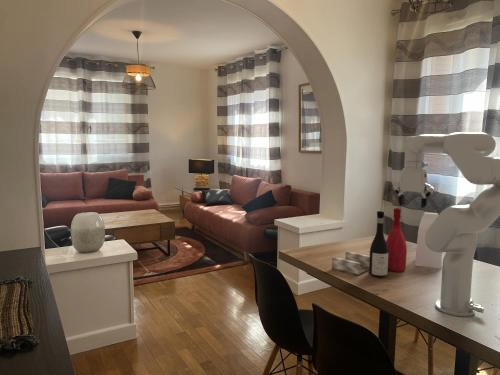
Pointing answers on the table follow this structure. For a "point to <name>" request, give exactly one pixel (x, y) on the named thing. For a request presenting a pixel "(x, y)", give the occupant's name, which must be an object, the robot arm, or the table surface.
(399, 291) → the table surface
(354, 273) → the cradle
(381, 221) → the wine bottle
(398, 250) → the wine bottle
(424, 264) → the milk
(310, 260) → the table surface
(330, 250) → the table surface
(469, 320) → the table surface
